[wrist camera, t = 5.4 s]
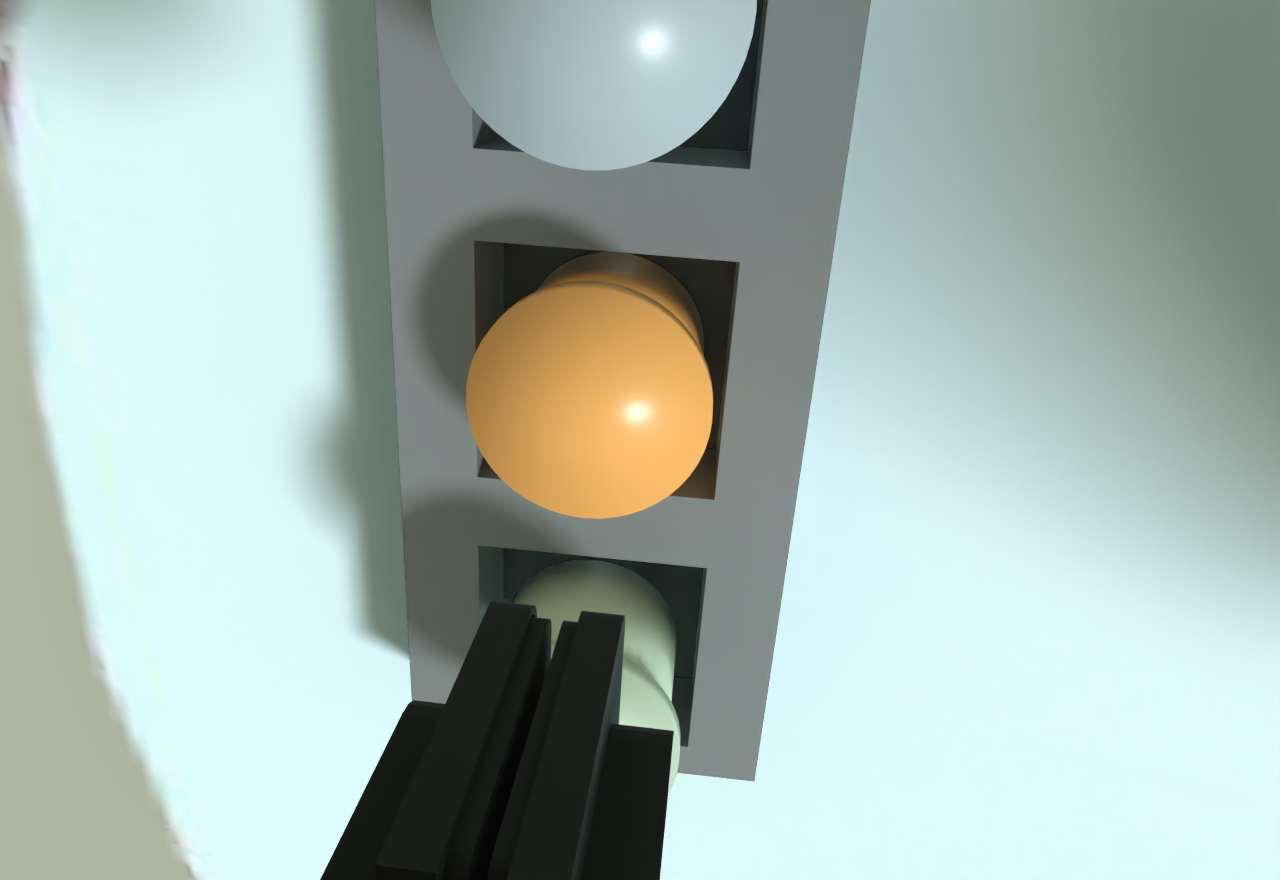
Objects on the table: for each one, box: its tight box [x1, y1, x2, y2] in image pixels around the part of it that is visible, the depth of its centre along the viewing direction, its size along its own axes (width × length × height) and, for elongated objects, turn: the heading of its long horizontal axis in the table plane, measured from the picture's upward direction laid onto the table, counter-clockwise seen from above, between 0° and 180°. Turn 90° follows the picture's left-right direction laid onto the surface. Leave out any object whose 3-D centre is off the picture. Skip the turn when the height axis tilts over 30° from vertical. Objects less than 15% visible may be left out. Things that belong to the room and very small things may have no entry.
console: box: [375, 0, 871, 781], centre depth 23 cm, size 10×24×3 cm, turn 176°
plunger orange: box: [466, 252, 713, 519], centre depth 22 cm, size 5×5×5 cm
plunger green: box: [512, 560, 681, 792], centre depth 24 cm, size 5×5×5 cm
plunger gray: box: [431, 0, 757, 170], centre depth 17 cm, size 5×5×5 cm
